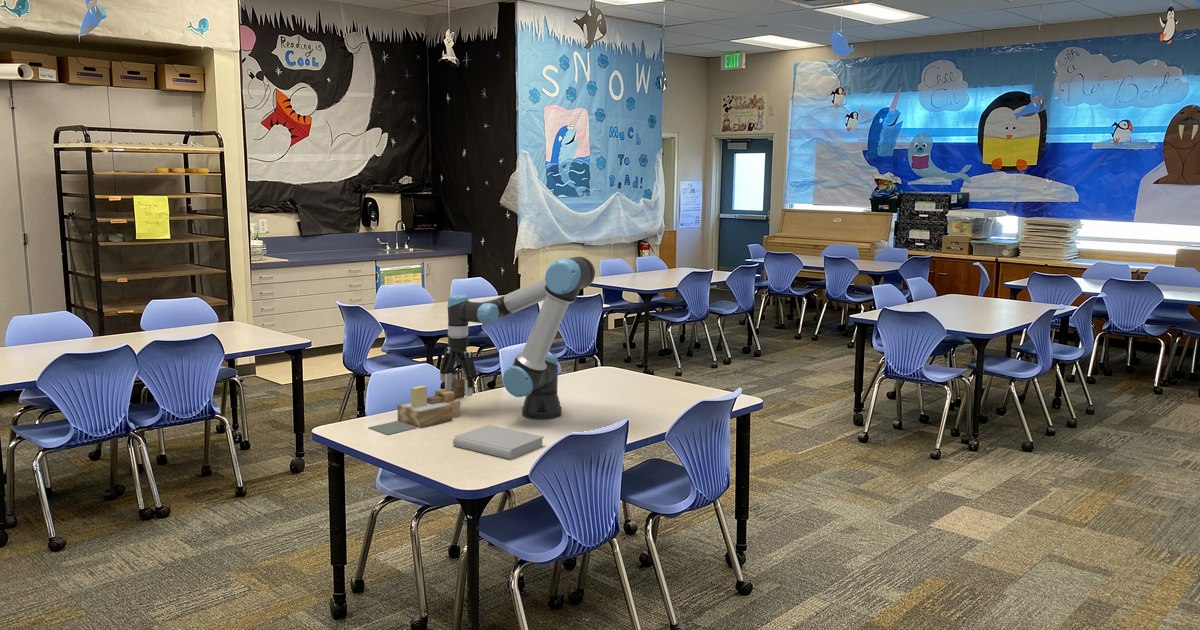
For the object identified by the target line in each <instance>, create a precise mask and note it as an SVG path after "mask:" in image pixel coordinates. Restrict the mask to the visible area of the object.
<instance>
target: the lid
mask: <svg viewBox="0 0 1200 630" xmlns="http://www.w3.org/2000/svg"><path fill="white" fill-rule="evenodd" d="M427 389H428V388H427V386H426V385H419V386H414V387H410V395H411V396H410V398H411V399H410V402H411V403H408V402H406V403H407V404H403V403H402V404H403V406H406V407H409V408H413V409H416V410H419V411H424V410H428V409H433V408H437V407H442V406H447V405H446V404H443V403H436V404H429V403H427V398H428V395H427V392H428V391H427Z"/></svg>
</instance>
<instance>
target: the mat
mask: <svg viewBox="0 0 1200 630" xmlns="http://www.w3.org/2000/svg"><path fill="white" fill-rule="evenodd" d="M368 429H369V430H372V431H375V432H378V433H381V434H383V435H385V436H390V435H394V434H399V433H402V432H403V433H404V432H406V431H411V430H416V429H417V427H415V426H412V425H409V424H406V423H403V422H400V421H398V420H395V421H391V422H386V423H382V424H377V425H373V426H368Z"/></svg>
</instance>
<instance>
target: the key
mask: <svg viewBox="0 0 1200 630" xmlns="http://www.w3.org/2000/svg"><path fill="white" fill-rule="evenodd" d="M453 392H455V399H456V400H459V399H463V398H465V379H464V378H456V379H453ZM440 402H443V396H442V395H438V396H435V395H434V396H433V395H432V396H430V397H429V396H427V403H429V404H436V403H440Z"/></svg>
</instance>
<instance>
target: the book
mask: <svg viewBox="0 0 1200 630" xmlns="http://www.w3.org/2000/svg"><path fill="white" fill-rule="evenodd" d="M544 438H545V436H543V435H538V434H534V433H528V432H525V431H519V430H515V429H511V428H507V427H506V428H505V427H502V426H498V425H492V424H487V425H483V426H481V427H478V428H475V429H472V430H469V431H467V432H464V433H463V432H462V433H461V434H458V435H455V436H454V438H453V440H452V445H453V446H454V447H457V448H460V449H465V450H469V451H473V452H477V453H481V454H486V455H490V456H494V457H499V458H501V459H507V460H513V459H516V458H519V457H520V456H523V455H524V454H527V453H529V452H532V451H535V450H536V449H539V448H542V447H543V439H544Z"/></svg>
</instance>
